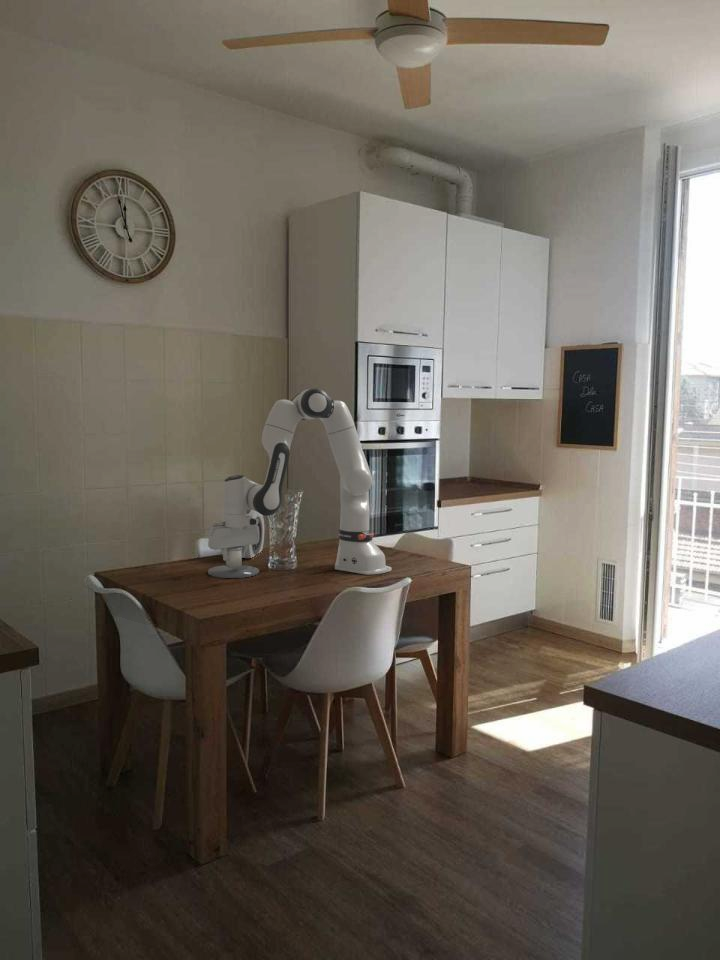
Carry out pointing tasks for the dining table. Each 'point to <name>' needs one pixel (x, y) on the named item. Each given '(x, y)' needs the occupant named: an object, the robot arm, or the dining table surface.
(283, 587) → the dining table surface
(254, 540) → the robot arm
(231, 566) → the cup
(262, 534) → the alarm clock
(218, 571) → the disc
